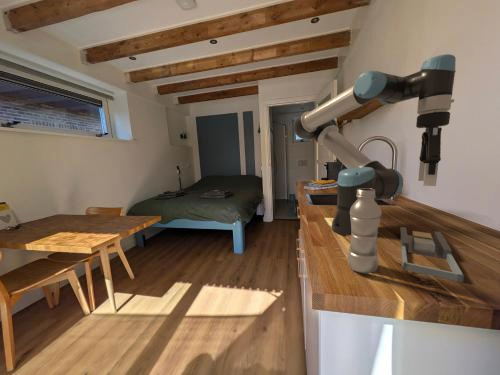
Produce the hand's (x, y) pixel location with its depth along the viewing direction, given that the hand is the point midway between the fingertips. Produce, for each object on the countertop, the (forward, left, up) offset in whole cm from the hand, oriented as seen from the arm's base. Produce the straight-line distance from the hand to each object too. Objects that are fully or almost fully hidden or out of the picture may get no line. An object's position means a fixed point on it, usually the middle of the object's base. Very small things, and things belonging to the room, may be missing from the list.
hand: (426, 183), depth 64 cm
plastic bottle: (-14, -32, -19) cm, 39 cm away
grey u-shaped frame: (-1, -22, -18) cm, 29 cm away
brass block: (-1, -8, -18) cm, 19 cm away
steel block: (-1, -13, -18) cm, 22 cm away
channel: (-1, -9, -18) cm, 21 cm away
